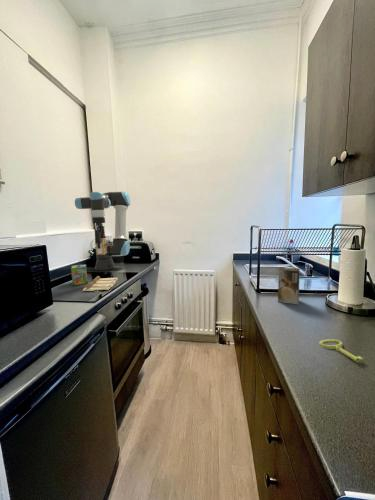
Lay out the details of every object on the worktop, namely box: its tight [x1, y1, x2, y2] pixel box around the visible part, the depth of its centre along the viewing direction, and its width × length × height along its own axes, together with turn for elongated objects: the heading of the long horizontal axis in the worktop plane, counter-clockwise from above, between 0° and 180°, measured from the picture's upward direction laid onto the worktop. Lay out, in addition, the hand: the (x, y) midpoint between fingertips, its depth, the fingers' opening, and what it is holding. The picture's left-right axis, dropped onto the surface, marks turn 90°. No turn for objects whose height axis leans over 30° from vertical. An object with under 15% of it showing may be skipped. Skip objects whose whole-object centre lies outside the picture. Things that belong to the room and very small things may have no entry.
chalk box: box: [70, 260, 89, 287], centre depth 148 cm, size 9×9×15 cm
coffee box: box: [277, 266, 301, 305], centre depth 108 cm, size 9×6×16 cm
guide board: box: [82, 275, 119, 292], centre depth 142 cm, size 22×15×4 cm
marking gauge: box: [94, 237, 113, 255], centre depth 147 cm, size 6×10×10 cm, turn 94°
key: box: [318, 338, 364, 363], centre depth 70 cm, size 7×12×2 cm, turn 28°
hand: (101, 252), depth 147 cm, fingers closed on marking gauge, 6 cm apart
